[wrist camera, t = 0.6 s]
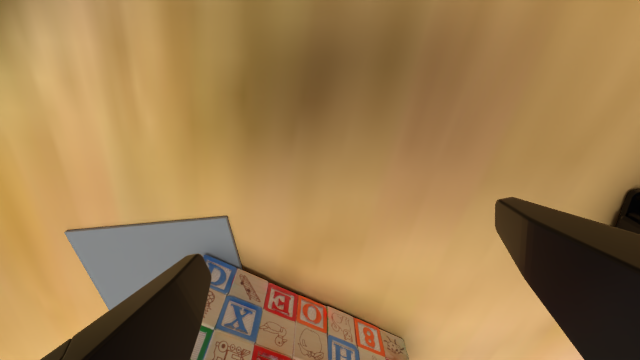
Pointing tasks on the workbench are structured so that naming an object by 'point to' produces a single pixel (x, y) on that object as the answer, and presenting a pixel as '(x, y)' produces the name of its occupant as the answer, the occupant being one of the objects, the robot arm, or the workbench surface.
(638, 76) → the workbench surface
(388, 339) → the stack of blocks
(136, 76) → the workbench surface
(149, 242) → the mat
